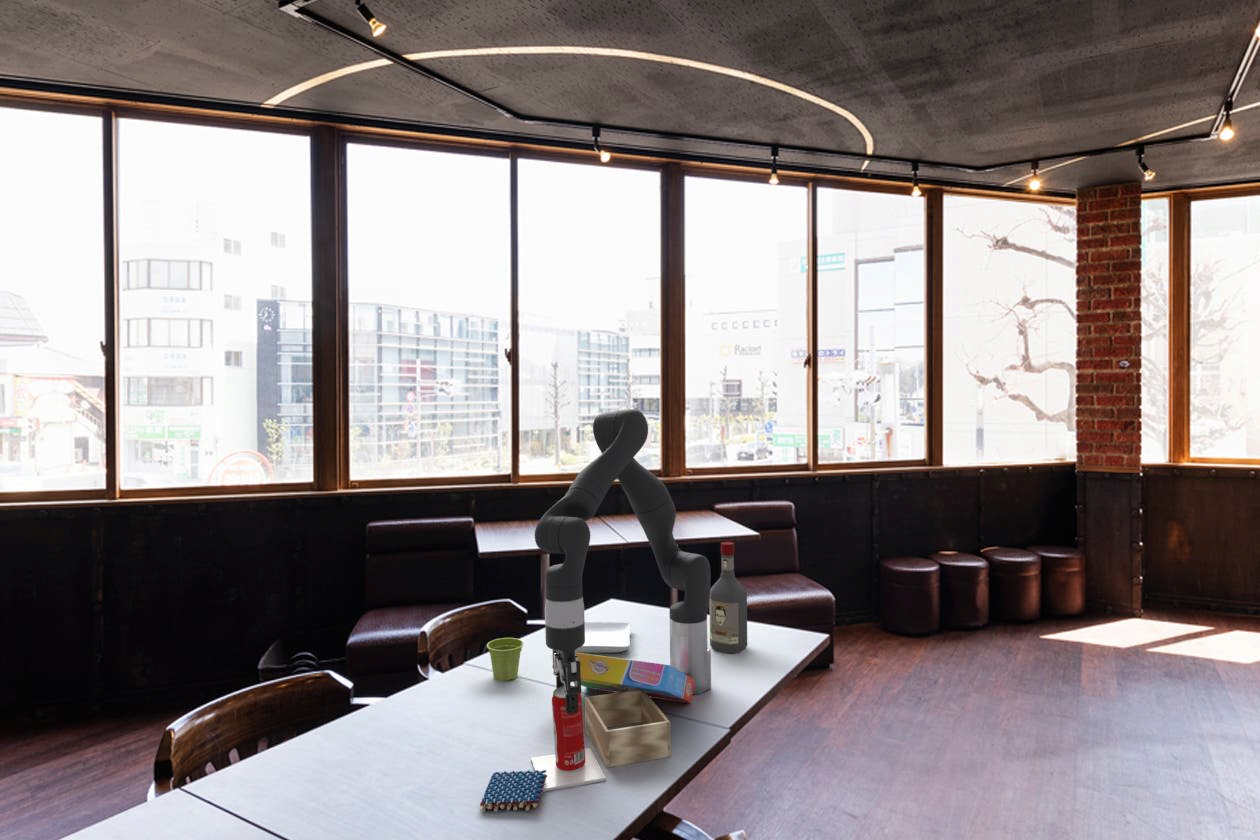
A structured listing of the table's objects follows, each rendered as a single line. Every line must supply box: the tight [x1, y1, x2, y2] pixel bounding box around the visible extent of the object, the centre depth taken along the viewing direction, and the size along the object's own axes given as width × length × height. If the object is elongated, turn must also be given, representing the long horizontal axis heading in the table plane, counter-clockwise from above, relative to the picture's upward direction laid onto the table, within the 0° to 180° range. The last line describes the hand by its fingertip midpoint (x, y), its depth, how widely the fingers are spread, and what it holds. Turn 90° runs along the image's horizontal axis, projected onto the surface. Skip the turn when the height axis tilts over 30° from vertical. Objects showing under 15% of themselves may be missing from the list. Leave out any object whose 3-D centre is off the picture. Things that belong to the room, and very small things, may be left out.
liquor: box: [709, 541, 748, 655], centre depth 204 cm, size 9×9×30 cm
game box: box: [553, 652, 694, 704], centre depth 165 cm, size 21×6×27 cm
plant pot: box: [486, 637, 524, 682], centre depth 185 cm, size 9×9×9 cm
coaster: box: [530, 748, 607, 793], centre depth 138 cm, size 12×12×1 cm
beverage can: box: [551, 685, 586, 772], centre depth 138 cm, size 6×6×15 cm
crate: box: [584, 689, 671, 769], centre depth 149 cm, size 13×17×7 cm
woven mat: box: [479, 769, 547, 814], centre depth 129 cm, size 10×11×2 cm
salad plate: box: [575, 621, 632, 654], centre depth 210 cm, size 21×21×3 cm
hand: (567, 703), depth 138 cm, fingers open, 8 cm apart
